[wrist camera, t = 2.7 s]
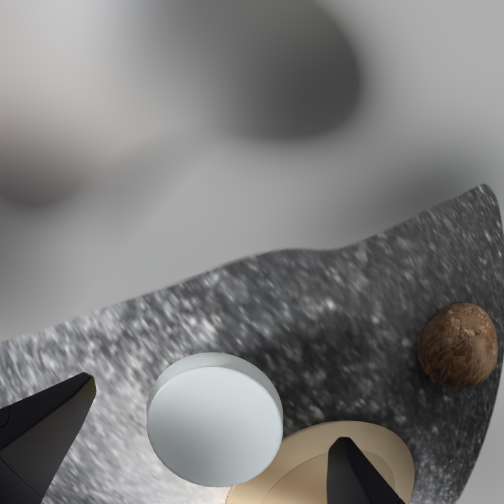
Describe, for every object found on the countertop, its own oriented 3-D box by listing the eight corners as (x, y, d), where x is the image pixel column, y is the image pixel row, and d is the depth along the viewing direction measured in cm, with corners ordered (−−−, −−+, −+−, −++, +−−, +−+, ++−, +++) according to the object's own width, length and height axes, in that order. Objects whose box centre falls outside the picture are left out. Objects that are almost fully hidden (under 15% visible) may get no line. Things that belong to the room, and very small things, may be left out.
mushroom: (492, 396, 13) (526, 350, 10) (414, 419, 15) (440, 378, 12) (468, 331, 20) (487, 282, 17) (399, 344, 22) (411, 293, 19)
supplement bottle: (192, 349, 16) (169, 310, 8) (270, 381, 16) (331, 377, 8) (158, 421, 14) (100, 456, 5) (238, 454, 14) (266, 522, 5)
